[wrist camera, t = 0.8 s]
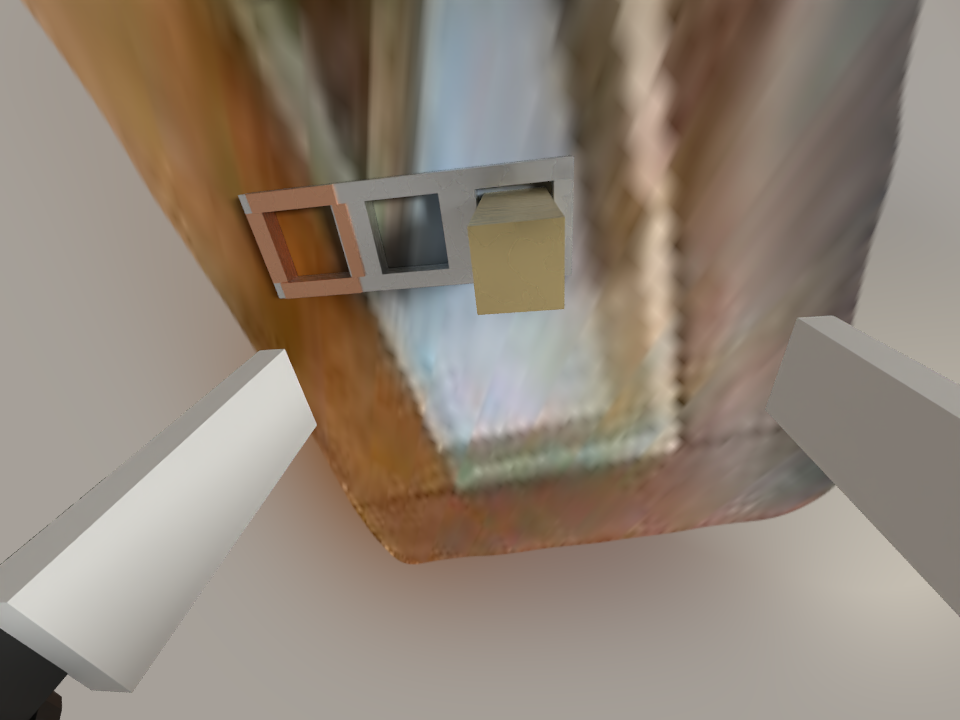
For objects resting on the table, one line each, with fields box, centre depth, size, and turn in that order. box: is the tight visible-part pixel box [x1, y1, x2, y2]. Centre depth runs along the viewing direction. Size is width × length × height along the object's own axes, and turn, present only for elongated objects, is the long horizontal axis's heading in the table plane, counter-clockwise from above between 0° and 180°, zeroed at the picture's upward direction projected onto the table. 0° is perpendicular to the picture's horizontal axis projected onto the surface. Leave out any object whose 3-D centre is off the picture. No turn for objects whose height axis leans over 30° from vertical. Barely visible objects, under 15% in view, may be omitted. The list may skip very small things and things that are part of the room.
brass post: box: [467, 187, 565, 315], centre depth 23 cm, size 4×4×12 cm
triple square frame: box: [238, 155, 574, 299], centre depth 28 cm, size 8×24×2 cm, turn 96°
